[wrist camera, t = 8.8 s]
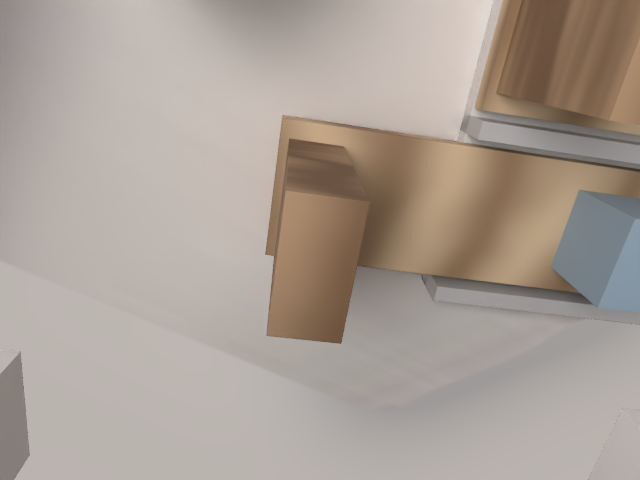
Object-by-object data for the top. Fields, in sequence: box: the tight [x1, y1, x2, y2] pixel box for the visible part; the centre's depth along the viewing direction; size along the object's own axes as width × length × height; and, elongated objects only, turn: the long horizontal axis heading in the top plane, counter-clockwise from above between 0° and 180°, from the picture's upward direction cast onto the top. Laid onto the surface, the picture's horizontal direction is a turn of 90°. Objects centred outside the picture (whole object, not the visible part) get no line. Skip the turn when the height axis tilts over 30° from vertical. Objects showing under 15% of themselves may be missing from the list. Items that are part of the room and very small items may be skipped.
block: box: [551, 190, 640, 313], centre depth 27 cm, size 5×5×5 cm
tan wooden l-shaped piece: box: [265, 115, 640, 344], centre depth 24 cm, size 24×8×11 cm, turn 81°
